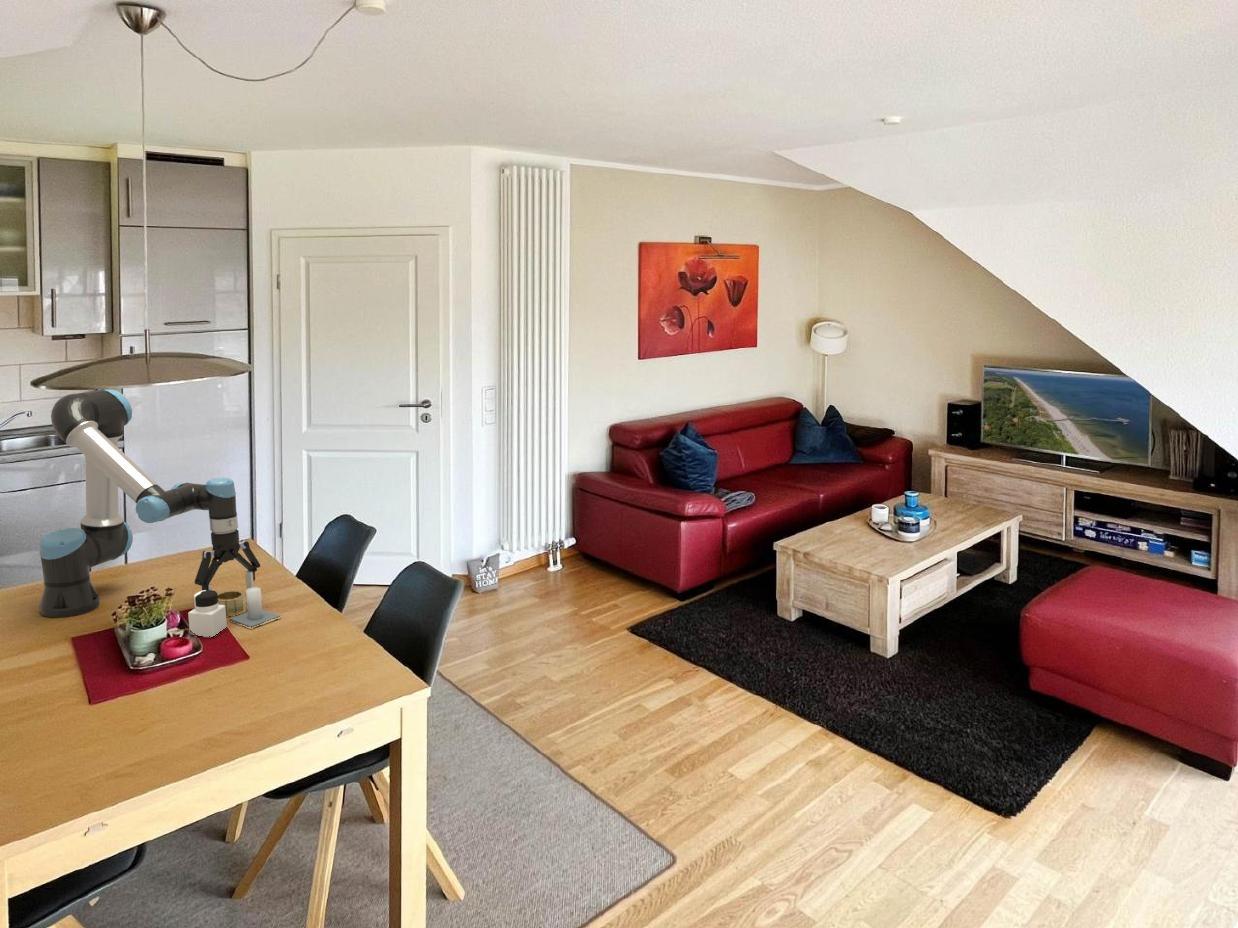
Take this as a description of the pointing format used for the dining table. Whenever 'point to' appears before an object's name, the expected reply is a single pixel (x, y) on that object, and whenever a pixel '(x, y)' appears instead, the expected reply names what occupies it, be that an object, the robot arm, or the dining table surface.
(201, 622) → the medicine bottle
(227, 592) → the ring
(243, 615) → the post stand
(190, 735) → the dining table surface
